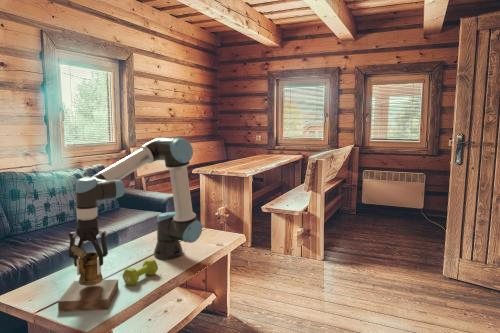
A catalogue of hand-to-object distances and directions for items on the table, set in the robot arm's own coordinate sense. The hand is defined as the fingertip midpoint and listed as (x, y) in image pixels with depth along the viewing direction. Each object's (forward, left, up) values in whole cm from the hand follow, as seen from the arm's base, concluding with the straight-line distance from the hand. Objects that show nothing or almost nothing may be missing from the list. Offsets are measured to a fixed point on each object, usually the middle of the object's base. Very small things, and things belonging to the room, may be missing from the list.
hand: (89, 273), depth 149 cm
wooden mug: (+1, 0, -4) cm, 4 cm away
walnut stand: (0, 0, -11) cm, 11 cm away
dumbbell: (-17, -18, -11) cm, 27 cm away
